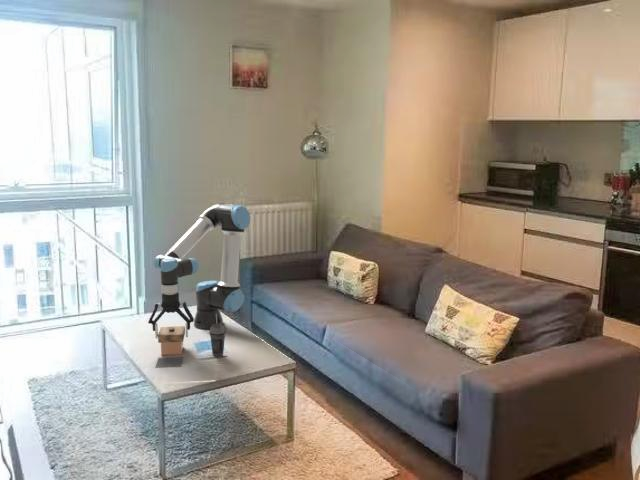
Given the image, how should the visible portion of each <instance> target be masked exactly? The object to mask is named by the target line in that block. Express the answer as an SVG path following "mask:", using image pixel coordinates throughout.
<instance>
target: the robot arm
mask: <svg viewBox="0 0 640 480" xmlns="http://www.w3.org/2000/svg"><path fill="white" fill-rule="evenodd" d="M250 223H251V215H250V212H249V210H248V209H247V208H246V207H245V206H243V205H240V204H231V203H230V204H229V203H223V202H220V203H216V204H214V205H211V206H210V207H208V208H207V209H206V210H204V211H203V212H202V213H201V214H200V215H199V216H198V218H197V221H196V222H195V223H194V224H193V225H192V226H191V227H190V228H189V229H188V230H187V231H186V232H185V233H184V234H183V235H182V236H181V237H180V238H179V239H178V240H177V241H176V242H175V243H174V244H173V245H172V247H170V248H169V249H168V250H167V252H166V253H165V254H159V255H157V256H155V258H154V260H153V261H154V262H153V265H154V268H155V269H156V270H158V271H160V279H161V281H160V283H161V285H160V286H161V303H160V302H155V303H154V310H153V311H152V313H151V315H150V317H149V319H148V324H151V325H152V331H153V332H155V339H158V334H159V331H158V330H159V329H158V327H159V326H158V321H159V320H160V319H161V318H162V317H163V315H164V314H165V313H167V314H170V313H172V314H173V313H177V314H178V315H179V316H180V318H182V319H183V320H184V321H185V337H186V338H188V337H189V330H190V329H191V323H193V326H194V327H195V328H196V329H202V330H210V328H211V326H212V325H213V324H216V314H217V323H220V324H222V325H223V326H224V319H223V316H222V314H221V310H222V311H226V312H236V311H238V310H239V309H240V308H241V306H242V305H243V303H244V299H245V294H244V292H243V290H242V289H241V284H240V283H239V282H238V278H239V265H240V254H241V253H240V252H241V239H242V235H243V234H244V233H245V229H247V228H248V227H249V225H250ZM216 227H221V230H220V231H221V232H222V233H223V244H222V255H221V256H222V257H221V258H222V259H221V270H220V271H221V272H220V280H219V281H218V280H205V281H202V282H201V281H200V282H198V283H197V284H196V287H195V288H196V290H195V295H196V296H195V297H196V312H195V316H193V315H192V313H191V311H190V309H189V308H188V306H187V302H186V301H183V302H180V293H179V290H180V289H179V278H183V277H187V276H192V275H193V274H194V275H195V274H196V273H197V272H198V271H199V263H198V261H197V260H196V259H195V258H193V257H189V258H184V257H186V255H188V253H189V252H190V251H192V249H194V247H195V246H196V245H197V244H198V243H199V242H200V240H202V239H203V238H204V237H205V235H206V234H207V233H208V232H211V231H213V230H214V229H215V228H216ZM180 306H181V307H182V308H183V309H184V311H185V313H184V312H183V311H182V310H181V308H180ZM160 307H161V309H162V310H161V311H160V312H159V314H158V315H157V316H156V313H157V311H158V309H159V308H160ZM155 316H156V317H155ZM154 317H155V319H154ZM153 319H154V320H153Z"/></svg>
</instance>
